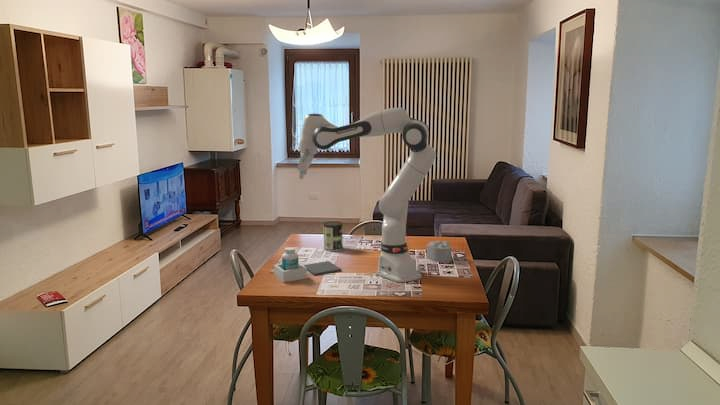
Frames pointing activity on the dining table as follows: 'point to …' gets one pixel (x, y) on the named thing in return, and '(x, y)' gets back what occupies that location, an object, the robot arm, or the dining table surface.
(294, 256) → the pill bottle
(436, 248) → the grey bumpy block
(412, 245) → the dining table surface
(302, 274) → the holder
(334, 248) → the coffee can
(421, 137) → the robot arm
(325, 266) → the mat
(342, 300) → the dining table surface
